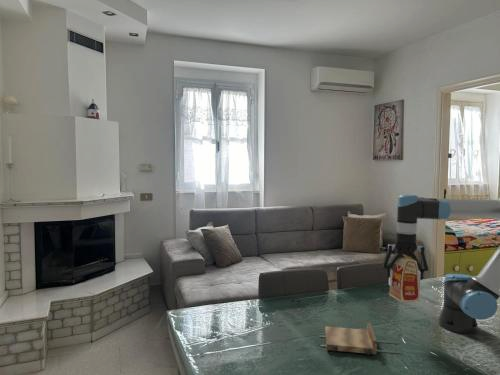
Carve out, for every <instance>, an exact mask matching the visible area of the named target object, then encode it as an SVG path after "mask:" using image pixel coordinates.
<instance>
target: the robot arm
mask: <svg viewBox="0 0 500 375" xmlns="http://www.w3.org/2000/svg"><path fill="white" fill-rule="evenodd" d="M396 207H397V214H396V215H397V218H396V231H397V232H396V235H395V236H396V237H395V238H396V240H395V244H390V243H388V244H387V251H386V253H385V256H384V259H383V261H382V264H381V266H382V267H383V269H386V277H387V278H388V285H389V287H390V286H392V275H393V269H392V268H394V266H395V264H396V261H397V259H398V258H399V257H400V256H401V255H402V254H404V255H407V256H410V255H411V256H412V257H413V259H414V260H416V261H417V267H418V275H419V289H421V281H423V279H424V273H425V272H428V271H429V267H428V263H427V258H426V256H425V247H424V246H423V245H417V234H416V233H417V231H418V230H417V229H418V227H417V226H418V219H426V220H439V221H440V220H448V219H449V218H450V217H468V218H490V219H491V218H492V219H497V220H498V221H500V197H498V198H497V199H466V198H435V197H434V198H432V197H431V198H430V197H421V196H420V197H419V196H418V195H416V194H400V195H398V199H397V206H396ZM395 249H396V252H395V254H394V255H393V256H392V258H391V255H392V252H393V250H395ZM416 251H417V252H419V253H418V254H419V255H420V260H421V262H419V260H418V258H417V256H416V253H415V252H416ZM414 253H415V254H414ZM390 258H391V260H390ZM421 264H422V265H421ZM499 298H500V245H499V246H498V247H497V249H496V250H495V251H494V252H493V254H492V255H491V256H490V258H489V259H488V261H487V262H486V263H485V264H484V265H483V267H482V269H481V270H480V271H479V272H478V274H477V275H473V276H472V275H469V274H463V273H447V274H445V275H444V280H443V307H442V309H441V311H440V313H439V316H438V319H437V320H438V325H439V326H440V327H441V328H443V329H445V330H446V331H447V330H448V331H451V332H453V333H459V334H466V335H467V334H468V335H470V334H475V333H478V331H479V330H478V327H479V326H478V325H479V324H478V321H477V320H479V321H481V320H482V321H483V320H487V319H490V318H492V317H493V316H494V315H495V314H496V313H497V310H498V308H499V307H498V299H499Z"/></svg>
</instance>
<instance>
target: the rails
mask: <svg viewBox="0 0 500 375" xmlns="http://www.w3.org/2000/svg"><path fill="white" fill-rule="evenodd" d="M319 338H325V339H326V335H319ZM376 340H377V339H376ZM377 343H380V344H383V343H384V344H393V345H398V343H397V341H389V340H388V341H387V340H377ZM319 346H320V347H322V348H326V344H320V345H319ZM376 353H386V354H396V355H402V354H403V353H402V351H395V350H394V351H393V350H383V349H377V352H376Z"/></svg>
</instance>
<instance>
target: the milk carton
mask: <svg viewBox="0 0 500 375" xmlns="http://www.w3.org/2000/svg"><path fill="white" fill-rule="evenodd" d="M414 254H415V255H416V253H415V252H414ZM418 271H419V269H418V267H417V261H416V260H414V259H413V257H412V256H411V255H410V256H407V255H404V254H402V255H401V256H400V257H399V258H398V259H397V261H396V262H395V264H394V266H393V270H392V286H390V285H389V291H388V292H389V294H388V295H389V296H390V297H392V298H394V299H395V300H397V301H399V302H400V303H401V304H402V303H404V304H405V303H414V302H415V303H416V302H419V301H420V288H419V275H418Z"/></svg>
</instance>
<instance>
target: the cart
mask: <svg viewBox="0 0 500 375" xmlns="http://www.w3.org/2000/svg"><path fill="white" fill-rule="evenodd" d="M324 329H325V331H324V332H325V336H326V338H325V343H326V344H325V345H326V347H325V348H326V350H327V351H333V352H347V353H348V352H349V353H359V354H366V355H377V353H378V352H377V350H378V342H377V337H376V335H375V332H374V329H373V326H372V324H371V322H367V323H366V329H364V328H351V327H350V328H348V327H339V326H337V327H336V326H326V325H325V328H324Z"/></svg>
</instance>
